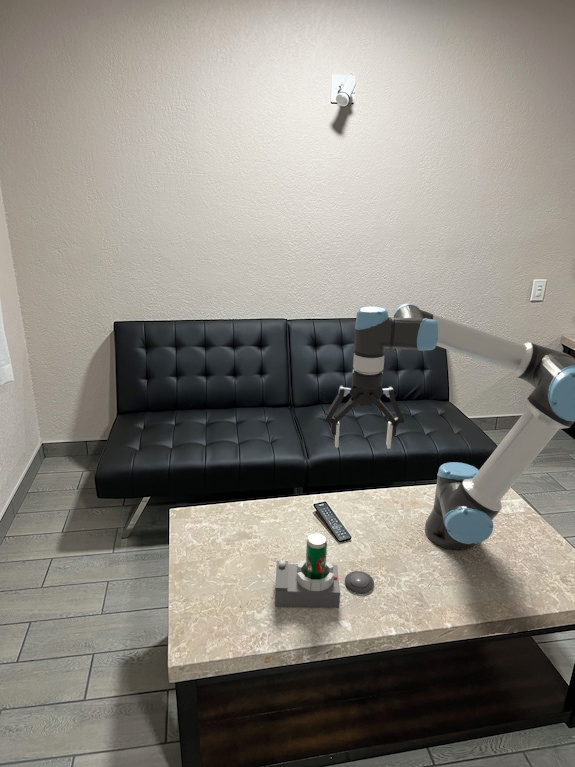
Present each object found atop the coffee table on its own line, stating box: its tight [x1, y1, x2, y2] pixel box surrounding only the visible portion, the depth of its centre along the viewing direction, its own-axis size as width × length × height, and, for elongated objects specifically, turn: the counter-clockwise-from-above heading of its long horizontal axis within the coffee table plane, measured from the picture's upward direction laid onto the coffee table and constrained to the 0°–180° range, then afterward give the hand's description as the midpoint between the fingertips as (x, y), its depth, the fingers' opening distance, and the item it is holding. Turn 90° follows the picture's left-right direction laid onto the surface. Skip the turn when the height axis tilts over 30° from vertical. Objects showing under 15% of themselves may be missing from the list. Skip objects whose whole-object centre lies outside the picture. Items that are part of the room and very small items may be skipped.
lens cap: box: [344, 570, 375, 595], centre depth 142 cm, size 8×8×1 cm
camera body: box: [274, 558, 341, 609], centre depth 137 cm, size 16×10×8 cm, turn 89°
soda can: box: [305, 533, 328, 580], centre depth 135 cm, size 5×5×12 cm
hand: (362, 445), depth 141 cm, fingers open, 13 cm apart
